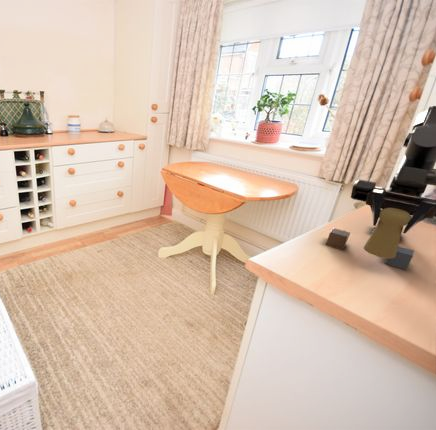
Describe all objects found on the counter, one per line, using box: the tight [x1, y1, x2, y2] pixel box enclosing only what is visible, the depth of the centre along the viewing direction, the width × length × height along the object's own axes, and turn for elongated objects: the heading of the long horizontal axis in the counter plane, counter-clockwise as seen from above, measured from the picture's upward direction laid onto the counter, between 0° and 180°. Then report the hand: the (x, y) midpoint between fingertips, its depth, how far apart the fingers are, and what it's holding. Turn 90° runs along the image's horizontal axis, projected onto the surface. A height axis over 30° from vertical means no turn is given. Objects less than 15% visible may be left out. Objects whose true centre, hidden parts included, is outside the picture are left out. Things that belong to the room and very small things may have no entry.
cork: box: [362, 208, 412, 259], centre depth 68 cm, size 6×6×11 cm
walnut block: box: [325, 227, 351, 250], centre depth 82 cm, size 4×4×4 cm
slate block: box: [384, 245, 415, 271], centre depth 73 cm, size 4×4×4 cm
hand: (388, 228), depth 67 cm, fingers closed on cork, 5 cm apart
